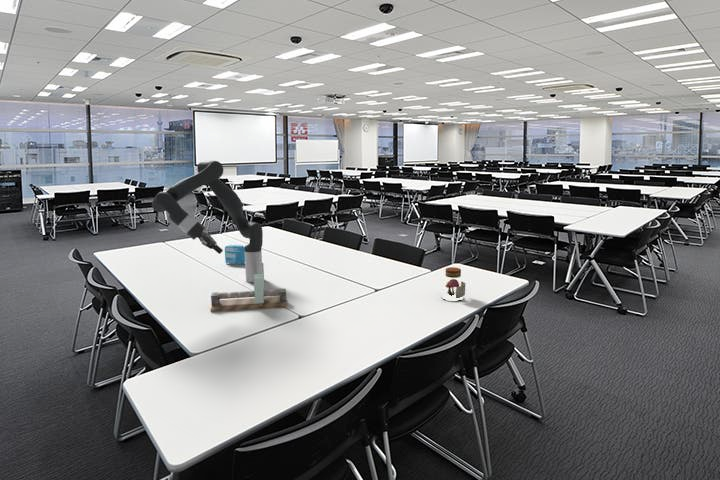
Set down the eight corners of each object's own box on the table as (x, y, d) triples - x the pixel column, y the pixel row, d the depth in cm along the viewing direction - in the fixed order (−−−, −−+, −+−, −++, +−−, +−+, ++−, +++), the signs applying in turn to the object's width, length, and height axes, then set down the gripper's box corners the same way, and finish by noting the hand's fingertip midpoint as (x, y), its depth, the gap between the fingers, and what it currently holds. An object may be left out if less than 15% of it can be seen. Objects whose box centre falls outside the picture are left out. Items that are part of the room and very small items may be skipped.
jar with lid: (439, 302, 215) (440, 271, 212) (441, 294, 227) (442, 265, 224) (464, 303, 212) (465, 273, 209) (464, 295, 224) (466, 266, 221)
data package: (225, 264, 289) (224, 245, 287) (229, 262, 294) (228, 244, 291) (242, 265, 286) (241, 246, 284) (245, 263, 291) (244, 245, 288)
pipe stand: (210, 311, 202) (209, 296, 200) (214, 303, 213) (213, 288, 212) (286, 307, 208) (286, 292, 206) (286, 299, 219) (285, 284, 218)
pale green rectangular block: (255, 303, 207) (253, 278, 204) (255, 298, 214) (254, 274, 212) (263, 303, 207) (262, 278, 205) (264, 297, 215) (263, 273, 213)
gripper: (194, 223, 195) (225, 249, 200) (199, 219, 208) (228, 243, 212) (182, 235, 195) (213, 261, 200) (188, 230, 208) (217, 254, 213)
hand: (221, 252), depth 206 cm, fingers closed
